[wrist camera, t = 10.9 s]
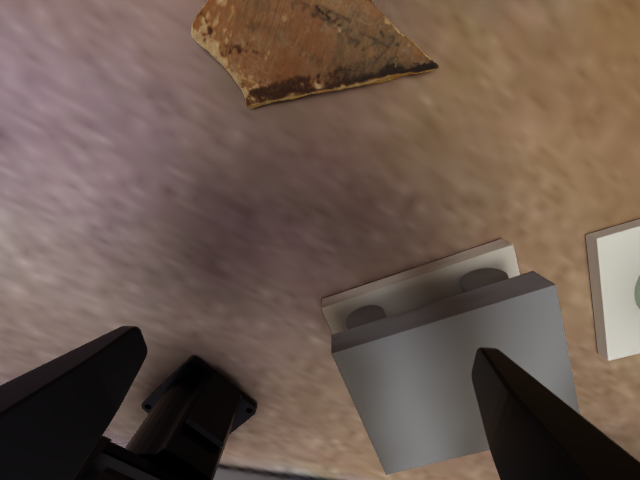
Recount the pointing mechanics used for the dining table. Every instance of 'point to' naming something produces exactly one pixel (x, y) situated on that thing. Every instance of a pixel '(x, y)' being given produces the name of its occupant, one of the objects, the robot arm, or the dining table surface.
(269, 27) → the shard
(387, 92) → the dining table surface
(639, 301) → the roller
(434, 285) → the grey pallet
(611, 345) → the pad
